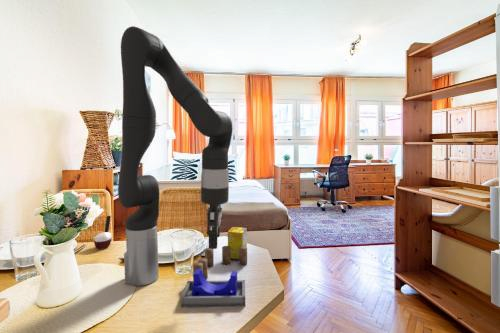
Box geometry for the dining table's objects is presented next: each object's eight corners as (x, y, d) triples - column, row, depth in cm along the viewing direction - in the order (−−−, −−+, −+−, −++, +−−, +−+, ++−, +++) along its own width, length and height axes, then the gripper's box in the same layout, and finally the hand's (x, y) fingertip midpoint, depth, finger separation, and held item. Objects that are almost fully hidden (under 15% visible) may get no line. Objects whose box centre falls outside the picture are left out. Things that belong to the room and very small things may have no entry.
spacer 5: (238, 265, 97) (238, 249, 96) (238, 262, 100) (238, 246, 99) (247, 265, 97) (247, 249, 96) (247, 262, 100) (247, 246, 99)
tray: (181, 307, 73) (181, 298, 72) (188, 289, 81) (187, 281, 81) (245, 306, 73) (245, 297, 73) (244, 288, 82) (244, 280, 82)
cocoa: (98, 253, 108) (96, 224, 107) (88, 250, 111) (86, 221, 109) (119, 244, 117) (117, 217, 115) (109, 241, 120) (108, 215, 118)
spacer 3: (204, 267, 96) (204, 250, 95) (205, 263, 98) (205, 247, 98) (213, 267, 96) (212, 250, 95) (213, 263, 99) (213, 247, 98)
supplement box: (232, 253, 108) (232, 226, 107) (247, 255, 106) (247, 227, 105) (227, 259, 102) (227, 231, 101) (242, 261, 100) (242, 232, 99)
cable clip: (192, 297, 76) (191, 276, 75) (196, 288, 80) (196, 268, 80) (234, 299, 75) (234, 278, 74) (237, 290, 79) (237, 271, 78)
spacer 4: (221, 265, 97) (221, 249, 97) (222, 261, 100) (222, 245, 100) (230, 265, 97) (230, 248, 97) (230, 261, 100) (230, 245, 100)
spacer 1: (192, 285, 84) (192, 266, 83) (194, 280, 86) (194, 262, 86) (202, 285, 84) (202, 266, 83) (203, 280, 87) (203, 262, 86)
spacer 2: (197, 280, 87) (197, 262, 86) (198, 275, 90) (198, 258, 89) (207, 280, 87) (206, 262, 86) (208, 275, 90) (207, 258, 89)
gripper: (227, 190, 67) (226, 253, 69) (229, 181, 82) (229, 233, 83) (196, 189, 67) (196, 252, 69) (204, 180, 81) (204, 233, 83)
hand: (214, 242), depth 76 cm, fingers open, 8 cm apart
